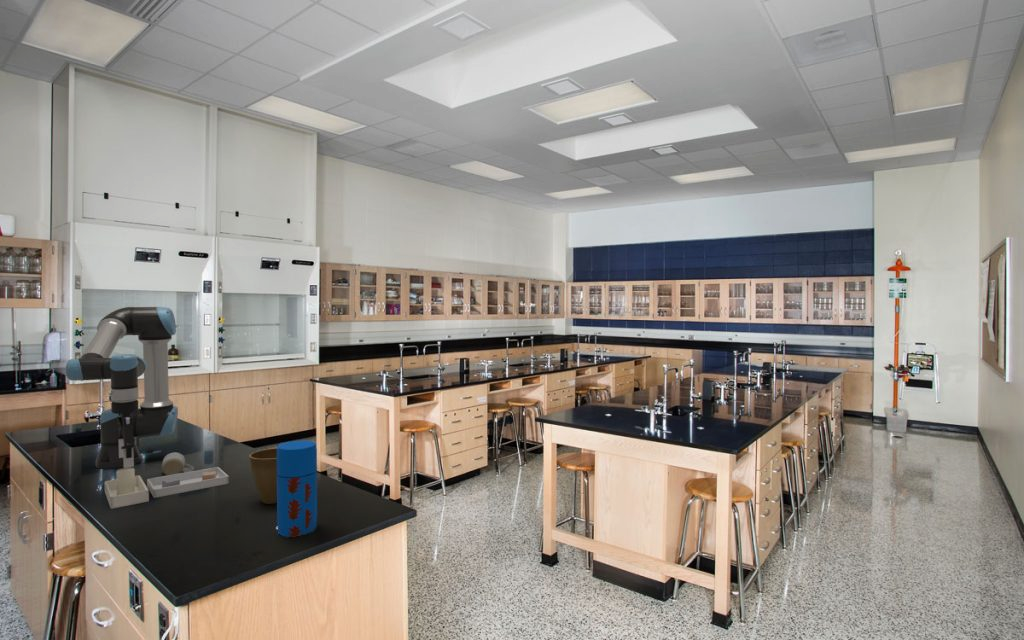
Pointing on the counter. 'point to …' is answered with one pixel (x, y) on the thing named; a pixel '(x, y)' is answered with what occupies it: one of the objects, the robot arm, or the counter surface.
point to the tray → (186, 482)
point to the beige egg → (125, 481)
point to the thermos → (296, 487)
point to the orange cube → (208, 475)
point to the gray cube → (170, 482)
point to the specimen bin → (126, 499)
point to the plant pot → (265, 474)
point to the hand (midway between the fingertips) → (126, 462)
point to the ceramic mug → (175, 464)
